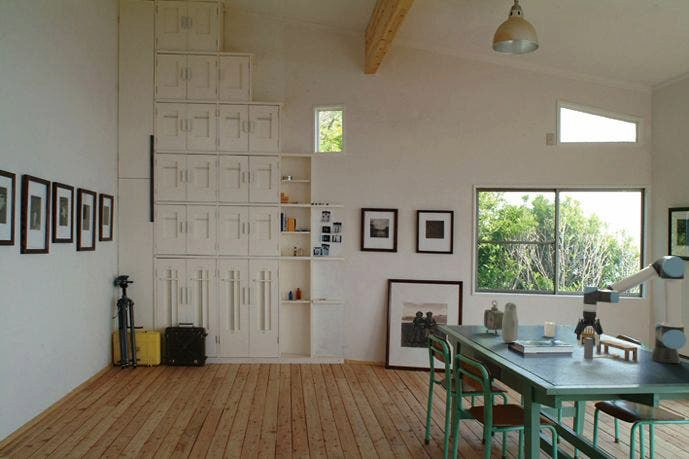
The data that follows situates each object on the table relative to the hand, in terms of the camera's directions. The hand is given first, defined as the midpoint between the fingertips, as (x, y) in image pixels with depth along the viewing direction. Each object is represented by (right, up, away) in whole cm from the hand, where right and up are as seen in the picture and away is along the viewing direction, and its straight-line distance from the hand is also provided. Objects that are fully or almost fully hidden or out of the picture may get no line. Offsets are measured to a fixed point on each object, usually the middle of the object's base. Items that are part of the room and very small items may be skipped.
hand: (588, 345), depth 319 cm
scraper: (+7, -8, +2) cm, 11 cm away
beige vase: (-37, -7, +36) cm, 52 cm away
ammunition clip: (+19, -9, +42) cm, 47 cm away
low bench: (+21, -8, +6) cm, 23 cm away
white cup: (+3, -9, +68) cm, 69 cm away
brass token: (+21, -9, +6) cm, 23 cm away
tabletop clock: (-38, -7, +71) cm, 80 cm away
